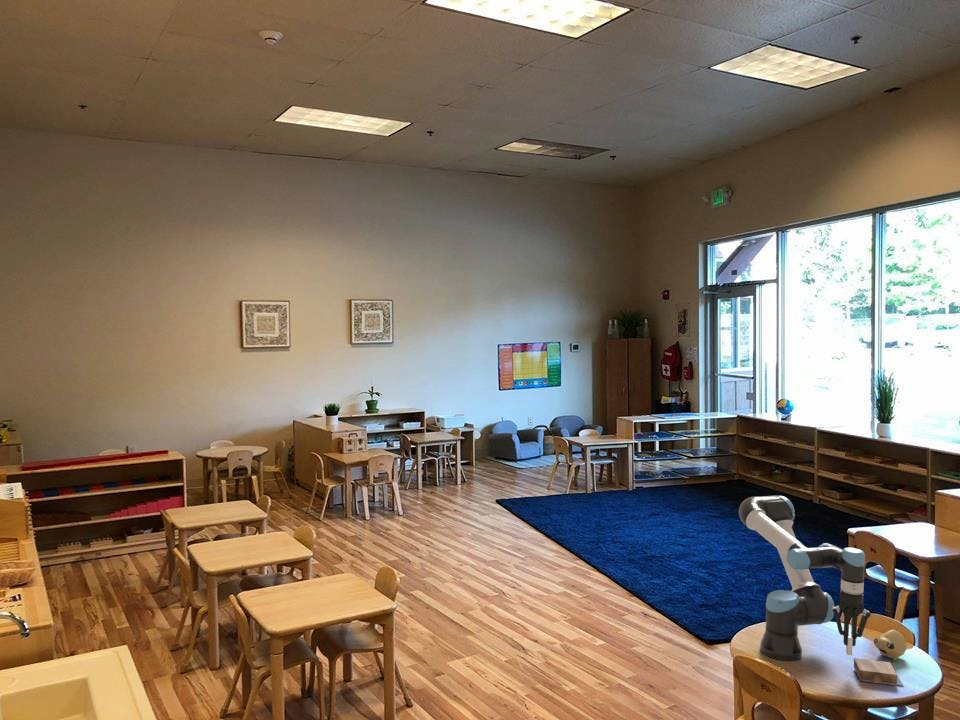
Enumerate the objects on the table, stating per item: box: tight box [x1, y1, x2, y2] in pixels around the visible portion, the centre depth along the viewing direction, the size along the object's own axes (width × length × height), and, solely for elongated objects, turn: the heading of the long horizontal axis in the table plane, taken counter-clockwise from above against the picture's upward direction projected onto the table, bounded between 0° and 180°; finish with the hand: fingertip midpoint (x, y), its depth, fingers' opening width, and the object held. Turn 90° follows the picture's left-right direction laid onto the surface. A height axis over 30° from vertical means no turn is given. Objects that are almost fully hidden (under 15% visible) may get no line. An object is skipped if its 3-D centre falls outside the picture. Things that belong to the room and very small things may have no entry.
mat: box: [864, 674, 904, 687], centre depth 267 cm, size 13×11×1 cm
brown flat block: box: [853, 657, 898, 686], centre depth 266 cm, size 4×10×12 cm
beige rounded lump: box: [873, 629, 907, 661], centre depth 282 cm, size 10×12×11 cm
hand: (848, 653), depth 268 cm, fingers closed
